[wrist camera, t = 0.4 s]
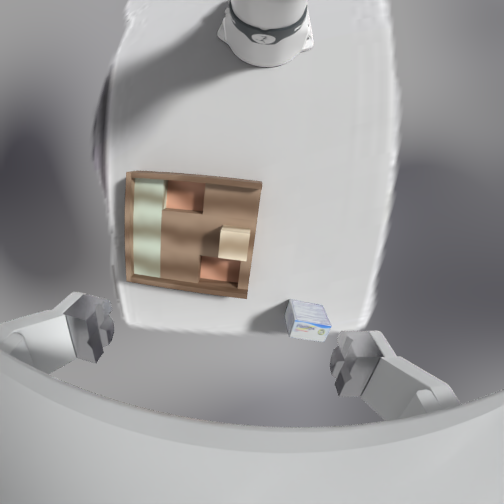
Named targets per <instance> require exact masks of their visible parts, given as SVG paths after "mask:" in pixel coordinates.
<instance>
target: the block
mask: <svg viewBox="0 0 504 504" xmlns="http://www.w3.org/2000/svg"><path fill="white" fill-rule="evenodd" d="M249 238H250V228H245V227H237V226H229V225H223V227H222V229H221V233H220V243H219V254H218V258H224V259H232V260H240V261H247V253H248V246H249Z"/></svg>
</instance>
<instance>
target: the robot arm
mask: <svg viewBox="0 0 504 504" xmlns="http://www.w3.org/2000/svg"><path fill="white" fill-rule="evenodd" d="M228 3H229V8H226V9H225V14H226V16H225V17H224V18H223V22H222V24H221V26H220V28H219V30H218V33H217V35H218V37H219V38H220V39H221V40H222V41H224V42H226V43H227V44H228V45H229V46H230V48H231V49H232V51H233V52H234V54H235V55H236V56H237V57H238V58H240V59H241V60H243V61H244V62H246V63H249V64H251V65H255V66H260V67H274V66H279V65H282V64H285V63H287V62H289V61H290V60H292V59H293V58H294V57H295V56H297V55H298V54H299V53H300V52H303V51H306V50H309V49H311V48H312V47H313V45H314V41H313V35H312V29H311V23H310V17H309V12H308V6H307V3H308V0H229V1H228ZM307 38H308V39H309V40H307ZM111 311H112V307H111V302H110V301H109V300H108V299H104V298H100V297H96V296H92V295H89V294H85V293H81V292H72V293H71V294H70V295H69V296H68V297H66V298H65V299H64V300H63V301H62V302H61V303H60V304H58V305H57V306H56V307H55V308H54V309H53V310H45V311H42V312H39V313H35V314H31V315H28V316H24V317H21V318H17V319H14V320H10V321H7V322H4V323H0V504H504V389H502V390H500V391H497V392H495V393H492V394H489V395H487V396H484V397H482V398H478V399H475V400H472V401H469V402H466V403H463V404H461V403H460V401H459V400H458V398H457V397H456V395H455V394H454V392H453V391H452V389H451V388H450V386H449V385H448V384H446V383H445V382H443V381H441V380H439V379H438V378H436V377H434V376H433V375H431V374H429V373H428V372H426V371H424V370H422V369H421V368H419V367H417V366H416V365H413V364H412V363H410V362H409V361H407V360H405V359H404V358H402V357H397V356H396V354H395V353H394V351H393V349H392V348H391V346H390V345H389V343H388V342H387V340H386V339H385V337H384V336H383V334H382V333H381V332H380V331H341V332H340V333H339V335H338V338H337V343H338V345H339V346H338V347H336V348H335V349H334V350H333V352H332V355H331V359H330V370H331V374H332V376H334V377H335V378H336V382H335V386H336V389H337V393H338V396H339V397H359V396H360V397H361V398H362V399H363V400H364V401H365V402H366V403H367V404H368V405H369V406H370V407H371V408H372V409H373V410H374V411H375V412H376V413H377V414H378V415H379V416H380V417H381V418H383V419H384V420H385V421H382V422H375V423H367V424H358V425H348V426H333V427H302V428H301V427H298V428H297V427H266V426H251V425H239V424H228V423H220V422H213V421H206V420H200V419H193V418H187V417H182V416H177V415H172V414H167V413H163V412H158V411H154V410H150V409H145V408H142V407H138V406H134V405H131V404H127V403H124V402H120V401H117V400H114V399H111V398H107V397H105V396H102V395H98V394H96V393H93V392H90V391H87V390H85V389H82V388H79V387H77V386H74V385H72V384H69V383H67V382H65V381H62V380H60V379H57V378H55V377H53V376H51V375H49V374H50V373H52V372H54V371H56V370H57V369H59V368H61V367H63V366H65V365H66V364H68V363H70V362H72V361H74V360H75V359H76V358H79V359H82V360H86V361H89V362H92V363H97V361H98V360H99V358H100V357H101V355H102V354H103V353H104V352H103V347H105V346H107V345H109V344H110V342H111V341H112V338H113V334H114V322H113V320H112V318H111V317H110V315H109V314H110V313H111Z"/></svg>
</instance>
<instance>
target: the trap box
mask: <svg viewBox="0 0 504 504" xmlns="http://www.w3.org/2000/svg"><path fill="white" fill-rule="evenodd" d="M261 190H262V182H260V181H252V180H244V179H236V178H227V177H217V176H207V175H196V174H184V173H170V172H153V171H132V172H126V190H125V262H126V280H127V281H129V282H134V283H140V284H146V285H152V286H158V287H164V288H171V289H177V290H184V291H191V292H198V293H205V294H212V295H219V296H227V297H235V298H243V299H247V292H248V283H249V276H250V269H251V261H252V254H253V246H254V239H255V232H256V224H257V217H258V209H259V202H260V195H261ZM223 225H229V226H237V227H245V228H250V238H249V246H248V253H247V261H240V260H232V259H224V258H218V254H219V243H220V233H221V229H222V227H223Z"/></svg>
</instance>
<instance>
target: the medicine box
mask: <svg viewBox="0 0 504 504" xmlns="http://www.w3.org/2000/svg"><path fill="white" fill-rule="evenodd" d="M285 320H286V325H287V330H288V336H289V337H292V338H299V339H305V340H312V341H318V342H324V341H325V339H326V337H327V335H328V333H329V331H330V328H331V326H332V325H331V323H330V321H329V318H328V316H327V314H326V312H325V309H324V307H323V305H318V304H312V303H307V302H301V301H296V300H291V299H290V300H289V303H288V306H287V309H286V312H285Z"/></svg>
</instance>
